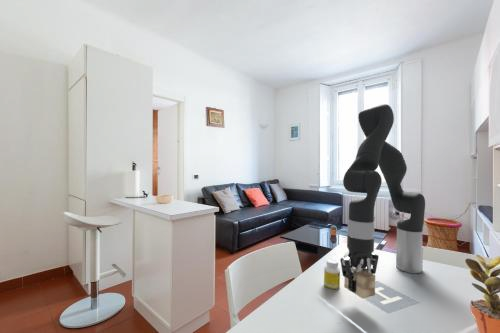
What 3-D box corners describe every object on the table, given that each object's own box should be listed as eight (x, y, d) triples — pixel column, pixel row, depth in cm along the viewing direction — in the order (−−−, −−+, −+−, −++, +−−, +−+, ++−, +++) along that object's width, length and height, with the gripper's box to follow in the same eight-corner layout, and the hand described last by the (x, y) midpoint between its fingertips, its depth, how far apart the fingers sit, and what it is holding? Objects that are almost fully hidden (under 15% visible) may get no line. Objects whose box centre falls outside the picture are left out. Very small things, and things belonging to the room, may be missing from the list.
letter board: (377, 282, 90) (377, 281, 90) (419, 304, 77) (419, 302, 77) (348, 290, 84) (348, 288, 84) (387, 315, 71) (387, 313, 71)
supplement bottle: (340, 293, 83) (341, 265, 82) (324, 291, 84) (325, 263, 84) (338, 285, 88) (338, 259, 88) (323, 283, 89) (323, 257, 89)
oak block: (355, 284, 78) (356, 266, 78) (374, 295, 71) (375, 275, 71) (344, 287, 76) (344, 268, 76) (362, 298, 69) (363, 278, 69)
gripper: (366, 229, 80) (365, 279, 80) (333, 233, 74) (332, 287, 74) (387, 235, 73) (386, 291, 73) (353, 240, 67) (351, 300, 67)
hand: (359, 289), depth 73 cm, fingers closed on oak block, 5 cm apart
